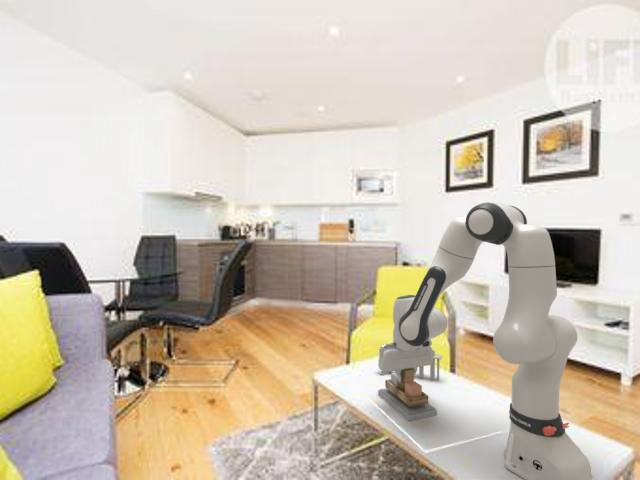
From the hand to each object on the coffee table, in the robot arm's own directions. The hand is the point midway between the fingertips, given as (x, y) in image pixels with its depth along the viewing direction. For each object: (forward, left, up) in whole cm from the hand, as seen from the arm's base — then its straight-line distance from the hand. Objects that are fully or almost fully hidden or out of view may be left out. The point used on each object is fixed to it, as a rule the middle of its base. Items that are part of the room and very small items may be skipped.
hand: (405, 380), depth 132 cm
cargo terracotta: (-4, 0, -4) cm, 6 cm away
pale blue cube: (+5, 0, -4) cm, 6 cm away
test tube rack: (+20, -15, -10) cm, 27 cm away
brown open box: (0, 0, -5) cm, 5 cm away
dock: (0, 0, -10) cm, 10 cm away
